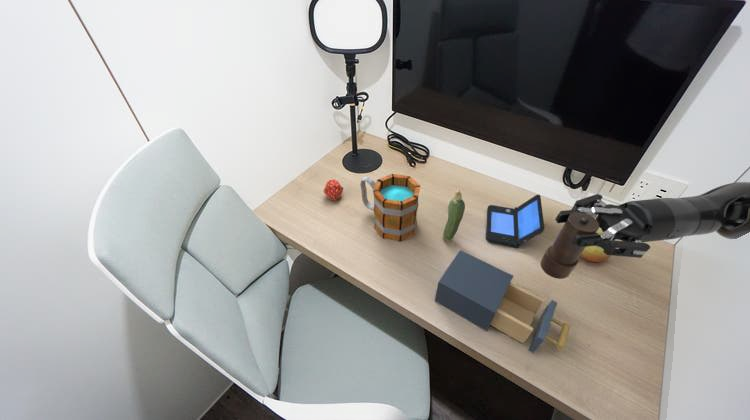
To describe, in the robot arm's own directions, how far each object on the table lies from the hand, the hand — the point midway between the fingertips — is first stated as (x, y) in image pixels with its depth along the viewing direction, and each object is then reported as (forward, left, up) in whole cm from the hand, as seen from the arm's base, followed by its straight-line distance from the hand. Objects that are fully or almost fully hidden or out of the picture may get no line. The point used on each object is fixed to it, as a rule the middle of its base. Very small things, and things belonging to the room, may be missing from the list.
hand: (566, 228), depth 56 cm
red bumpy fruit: (+60, +26, -30) cm, 72 cm away
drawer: (-3, +2, -29) cm, 29 cm away
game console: (+22, -17, -30) cm, 41 cm away
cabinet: (+8, +8, -30) cm, 32 cm away
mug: (+41, +15, -30) cm, 53 cm away
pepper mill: (-1, -2, -12) cm, 12 cm away
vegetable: (+26, +2, -30) cm, 40 cm away
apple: (+5, -30, -30) cm, 43 cm away
